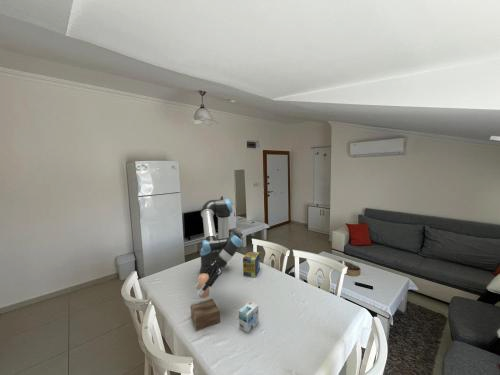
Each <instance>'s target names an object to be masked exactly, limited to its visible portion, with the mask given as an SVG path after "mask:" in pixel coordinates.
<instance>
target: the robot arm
mask: <svg viewBox="0 0 500 375" xmlns="http://www.w3.org/2000/svg"><path fill="white" fill-rule="evenodd" d="M232 213H233V206H232V202H231V199H229V198H223V199H221V198H220V199H210V200H207V201H206V202H205V203H204V204H203V205H202V207H201V210H200V216H201V218H202V223H203V233H204V240H202V243H201V244H202V247H201V249H200V252H199V253H200V254H199V255H200V267H199V271H198V273H199V275H200V274H203V273H206V274H208V275H209V279H208V281H207V282H206V283H205V284H204V285H203V286H202V288H201V289H200V290H199V283H198V282H197V283H196V284H195V286H194V288H195V289H196V290H198V291H197V295H198V296H199V295H202V294H203V293H204V291H205V290H206V289H207V288H208V287H209V288H212V286H213V285H214V283H216V281H217V279H218V278H219V277H220V276H221V275H222V271H221V270H222V269H223V268H225V267H226V266H227V265H228V263H229V262H230V261H231V259H232V258H233V257H234V255H235V254H236V253H237V252H238V250H239V249H240V248H241V247H242V245H243V240H242V239H241V238H239V236H237V235H232V236H229V234H230V233H229V230H230V228H229V227H230V226H229V225H230V224H229V218H230V217H231V214H232ZM214 215H216V218H217V227H218V229H217V230H218V232H217V233H218V238H217V235H216V228H215V227H216V226H215V222H214V221H215V220H214ZM199 275H198V276H199Z"/></svg>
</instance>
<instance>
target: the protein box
mask: <svg viewBox="0 0 500 375" xmlns="http://www.w3.org/2000/svg"><path fill="white" fill-rule="evenodd" d="M260 260H261V259H260V251H259V252H257V251H252V250H251V251H249V250H248V251H247V252H246V254H245V255H244V257H243V258H242V272H243V274H242V276H243V277H249V278H254V279H255V278H256V277H257V275H258V273H259V271H260V269H261V268H260V267H261V265H260V264H261V263H260V262H261V261H260Z"/></svg>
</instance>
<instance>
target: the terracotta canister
mask: <svg viewBox="0 0 500 375" xmlns="http://www.w3.org/2000/svg"><path fill="white" fill-rule="evenodd" d="M208 279H209V275H208V274H206V273H203V274H200V275H197V280H198V281H197V284H198V283H199V290H200V289H201V288H202V286H203V285H204V284H205V283H206V282H207V281H208ZM199 290H198V291H199ZM198 297H199V298H200V299H205V298H208V297H210V286H209V287H208V288H207V289H206V290H205V291H204V293H203V294H202V295H199V294H198Z"/></svg>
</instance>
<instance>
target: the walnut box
mask: <svg viewBox="0 0 500 375" xmlns="http://www.w3.org/2000/svg"><path fill="white" fill-rule="evenodd" d="M190 315H191V319H192V321H193V325H194V328H195V330H196V331H200V330H202V329H205V328H208V327H211V326H214V325H216V324H219V323H221V312H220V309H219V308H218V306H217V304H216V302H215V300H214V298H211V299H207V300H203V301H201V302H198V303H194V304H191V305H190Z"/></svg>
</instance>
